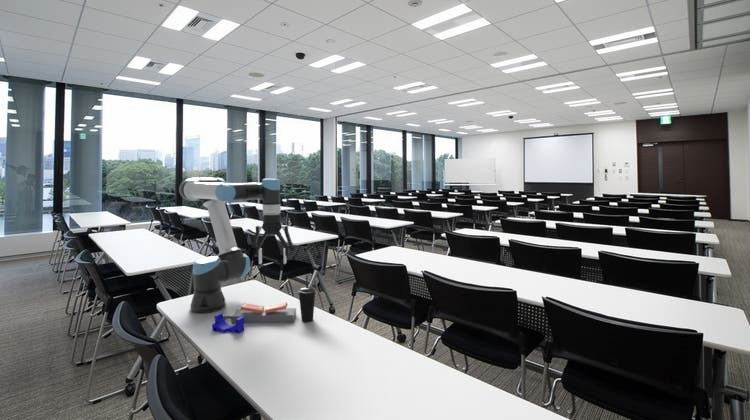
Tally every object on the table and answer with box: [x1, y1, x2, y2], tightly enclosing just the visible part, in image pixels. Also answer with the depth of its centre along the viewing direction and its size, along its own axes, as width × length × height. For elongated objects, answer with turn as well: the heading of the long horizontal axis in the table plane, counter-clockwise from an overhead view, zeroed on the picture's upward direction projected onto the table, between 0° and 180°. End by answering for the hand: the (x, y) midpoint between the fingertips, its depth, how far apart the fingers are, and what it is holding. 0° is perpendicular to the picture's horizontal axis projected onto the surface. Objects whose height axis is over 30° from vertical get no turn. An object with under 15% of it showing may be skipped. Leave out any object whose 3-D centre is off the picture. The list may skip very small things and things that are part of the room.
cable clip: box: [211, 312, 245, 335], centre depth 146 cm, size 12×4×6 cm, turn 72°
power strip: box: [223, 307, 297, 325], centre depth 157 cm, size 31×8×3 cm, turn 94°
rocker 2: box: [264, 301, 288, 313], centre depth 157 cm, size 9×4×2 cm, turn 93°
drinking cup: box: [297, 275, 317, 323], centre depth 156 cm, size 8×8×20 cm
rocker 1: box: [240, 302, 265, 313], centre depth 157 cm, size 9×4×2 cm, turn 96°
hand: (272, 263), depth 160 cm, fingers open, 10 cm apart
